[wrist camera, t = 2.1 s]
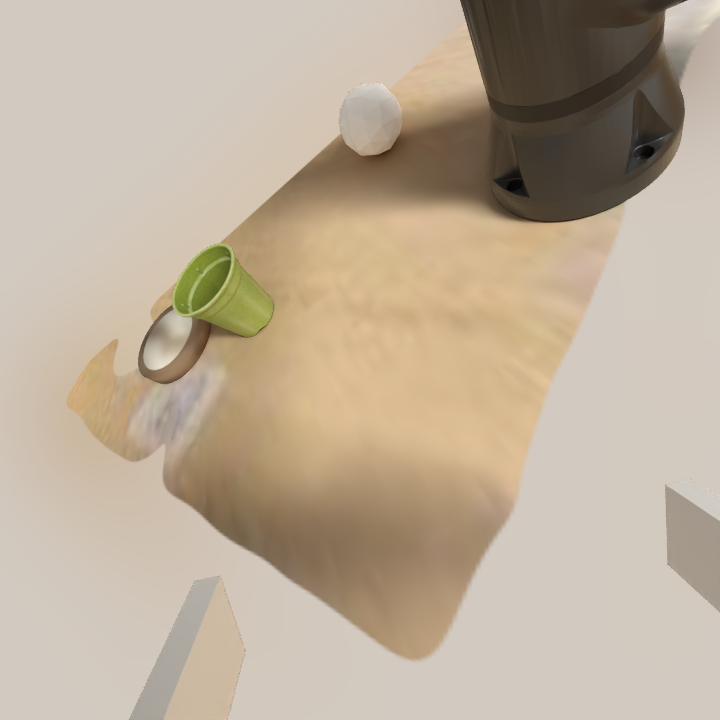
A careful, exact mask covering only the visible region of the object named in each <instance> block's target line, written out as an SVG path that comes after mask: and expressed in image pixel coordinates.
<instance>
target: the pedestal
mask: <svg viewBox="0 0 720 720" xmlns="http://www.w3.org/2000/svg"><path fill="white" fill-rule="evenodd" d="M209 333H210V322H208V321H205V320H203V319H196V318H193V317H188V318H187V317H182V316H179V315H178V314H176V312H175V311H174V309H173V305H172V306H170V307H169V308H167V309H166V310H165V311H164V312H163V313H162V314H161V315H160V316H159V317H158V318H157V319H156V320H155V322H154V323H153V324H152V326H151V327H150V329H149V331H148V332H147V334H146V336H145V338H144V340H143V343H142V345H141V348H140V352H139V358H138V366H139V370H140V372H141V374H142V375H143V376H144V377H146V378H148V379H151V380H153V381H156V382H158V383H161V384H168V383H172V382H174V381H176V380H178V379H179V378H181V377H182V376H183V375H185V374H186V373H187V372H188V371H189V370H190V369H191V368H192V367H193V365H194V364H195V363H196V362H197V360H198V359H199V357H200V356H201V354H202V352H203V350H204V348H205V346H206V343H207V341H208V337H209Z"/></svg>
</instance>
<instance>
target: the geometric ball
mask: <svg viewBox="0 0 720 720" xmlns="http://www.w3.org/2000/svg"><path fill="white" fill-rule="evenodd" d="M401 121H402V110H401V107H400V105H399V103H398V101H397V99H396V97H395V96H394V95H393V94H392V93H391V92H390V91H389V90H388V89H386V88H385V87H384V86H383V85H382V84H381V83H368V84H360V85H358V86H357V87H356V88H354V89H353V90H352V91H350V92H349V93H348V95H347V96H346V98H345V100H344V102H343V104H342V107H341V109H340V117H339V126H340V131H341V134H342V136H343V139H344V141H345V144H346V145H348V146H349V147H350V148H352V149H353V150H354V151H356V152H357V153H358V154H359V155H361V156H363V155H378V154H381V153H383V152H385V151H387V150H389V149H391V147H392V146H393V144H394V142H395V141H396V139H397V137H398V136H399V134H400V132H401Z"/></svg>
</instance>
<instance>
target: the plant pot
mask: <svg viewBox="0 0 720 720" xmlns="http://www.w3.org/2000/svg"><path fill="white" fill-rule="evenodd" d="M172 304H173V309H174V311H175V312H176V314H178V315H179V316H182V317H187V318H188V317H193V318H196V319H203V320H205V321H208V322H210V323H212V324H215V325H217V326H219V327H222V328H224V329H227V330H229V331H231V332H234V333H236V334H239V335H241V336H244V337H251V336H254V335H256V334H257V333H258V331H259V330H260V329H261V328H263V327H264V326H266V325H267V324H268V322H269V320H270V319H271V316H272V313H273V309H274V304H273V302H272V299H271V297H270V296H269V295H268V294H267V293H266V292H265V291H264V290H263V289H262V288H261V287H260V286H259V285H258V284H257V282H256V281H255V280H254V279H253V278H252V277H251V276H250V275H249V274H248V273H247V272H246V271H245V270H244V269H243V267H242V266H241V265H240V263H239V261H238V260H237V258H236V257H235V254H234V251H233V250H232V248H231V247H230V246H229V245H227V244H223V243H218V244H215V245H212V246H209V247H208V248H206V249H204V250H203V251H201V252H200V253H199V254H198V255H197V256H196V257H195V258H193V259H192V261H191V262H190V263H189V264H188V266H187V267H186V268H185V270H184V271H183V272H182V274H181V275H180V277H179V279H178V282H177V284H176V286H175V289H174V293H173V298H172Z"/></svg>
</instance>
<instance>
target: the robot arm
mask: <svg viewBox="0 0 720 720" xmlns="http://www.w3.org/2000/svg"><path fill="white" fill-rule="evenodd" d="M460 1H461V5H462V8H463V12H464V15H465V19H466V23H467V26H468V30H469V33H470V37H471V40H472V44H473V47H474V51H475V55H476V58H477V62H478V65H479V69H480V72H481V76H482V79H483V83H484V87H485V89H486V93H487V97H488V101H489V104H490V122H489V135H488V148H487V162H486V164H487V173H488V177H489V180H490V183H491V186H492V190H493V193H494V195H495V197H496V199H497V200H498V201H499V203H500V204H501V205H502V206H503V207H504V208H506V209H507V210H508V211H510V212H512V213H514V214H516V215H518V216H521V217H524V218H527V219H532V220H539V221H563V220H571V219H577V218H582V217H586V216H589V215H593V214H596V213H599V212H602V211H605V210H607V209H610V208H612V207H614V206H616V205H618V204H620V203H622V202H624V201H626V200H628V199H630V198H631V197H633V196H634V195H636V194H638V193H639V192H640V191H642V190H643V189H645V188H646V187H647V186H648V185H650V184H651V183H652V182H653V181H654V180H655V179H657V178H658V177H659V175H660V174H661V173H662V172H663V171H664V170H665V169H666V168H667V166H668V165H669V164H670V162H671V161H672V159H673V158H674V156H675V154H676V152H677V150H678V147H679V145H680V141H681V136H682V129H683V121H684V114H685V108H684V99H683V95H682V92H681V89H680V87H679V84H678V81H677V78H676V75H675V73H674V70H673V67H672V64H671V61H670V58H669V56H668V53H667V50H666V47H665V44H664V42H663V35H664V22H665V11H666V9H668V8H670V7H673V6H675V5H678V4H679V3H682V2H684V1H687V0H460ZM665 493H666V526H667V560H668V565H669V566H670V567H671V568H672V569H673V570H674V571H676V572H677V573H678V574H679V575H680V576H681V577H682V578H683V579H684V580H685V581H687V582H688V583H689V584H690V585H691V586H692V587H693V588H694V589H695V590H696V591H697V592H699V593H700V594H701V595H702V596H703V597H704V598H705V599H706V600H707V601H708V602H709V603H710V604H711V605H713V606H714V607H715V608H716V609H717V610H718V611H719V612H720V496H719V495H717V494H715V493H714V492H712V491H710V490H709V489H707V488H705V487H704V486H702V485H700V484H699V483H697V482H696V481H694V480H692V479H689V480H684V481H679V482H674V483H669V484H665ZM244 654H245V648H244V645H243V642H242V639H241V636H240V633H239V630H238V627H237V624H236V621H235V618H234V615H233V612H232V609H231V606H230V603H229V600H228V598H227V594H226V591H225V588H224V585H223V582H222V579H221V576H217V577H212V578H207V579H203V580H197V581H195V582H194V583H193V585H192V587H191V590H190V592H189V594H188V596H187V598H186V600H185V602H184V605H183V607H182V609H181V611H180V613H179V615H178V617H177V619H176V621H175V623H174V626H173V628H172V630H171V632H170V634H169V636H168V638H167V640H166V643H165V645H164V647H163V649H162V651H161V653H160V655H159V657H158V659H157V661H156V664H155V666H154V668H153V670H152V672H151V674H150V676H149V678H148V680H147V683H146V685H145V687H144V689H143V691H142V693H141V695H140V697H139V699H138V702H137V704H136V706H135V708H134V710H133V712H132V714H131V716H130V719H129V720H228V717H229V713H230V709H231V706H232V702H233V698H234V694H235V690H236V686H237V682H238V678H239V674H240V670H241V666H242V662H243V658H244Z"/></svg>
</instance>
